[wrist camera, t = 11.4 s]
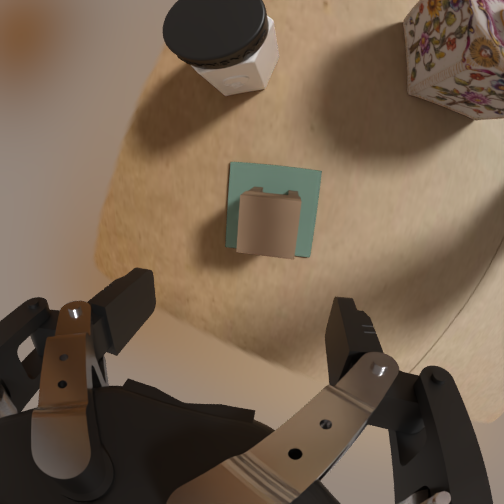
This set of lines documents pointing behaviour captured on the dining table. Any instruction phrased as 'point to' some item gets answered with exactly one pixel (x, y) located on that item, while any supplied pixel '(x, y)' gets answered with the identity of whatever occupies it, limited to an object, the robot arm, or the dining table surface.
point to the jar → (224, 42)
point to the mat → (277, 183)
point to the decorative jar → (457, 55)
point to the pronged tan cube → (268, 223)
